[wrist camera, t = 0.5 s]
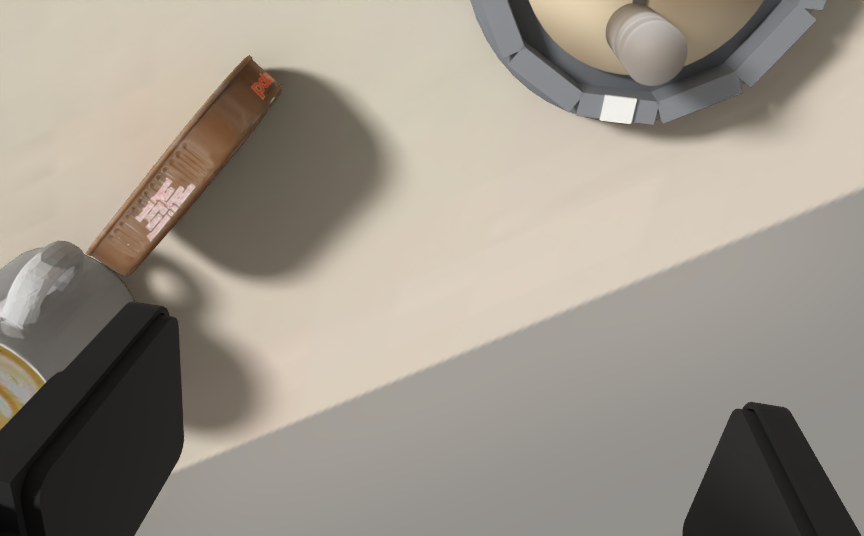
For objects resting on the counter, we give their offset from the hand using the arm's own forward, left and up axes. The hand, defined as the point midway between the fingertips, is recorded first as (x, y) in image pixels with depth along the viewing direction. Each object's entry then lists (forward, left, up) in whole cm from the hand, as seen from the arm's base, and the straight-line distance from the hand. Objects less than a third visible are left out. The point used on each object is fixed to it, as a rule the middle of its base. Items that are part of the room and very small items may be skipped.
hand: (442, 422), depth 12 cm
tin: (+7, -16, -31) cm, 35 cm away
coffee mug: (+19, -26, -31) cm, 44 cm away
